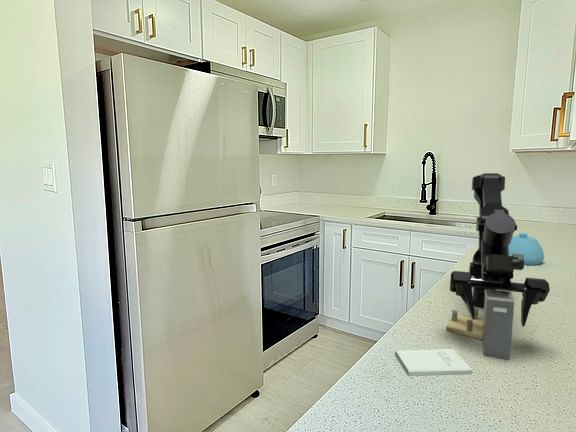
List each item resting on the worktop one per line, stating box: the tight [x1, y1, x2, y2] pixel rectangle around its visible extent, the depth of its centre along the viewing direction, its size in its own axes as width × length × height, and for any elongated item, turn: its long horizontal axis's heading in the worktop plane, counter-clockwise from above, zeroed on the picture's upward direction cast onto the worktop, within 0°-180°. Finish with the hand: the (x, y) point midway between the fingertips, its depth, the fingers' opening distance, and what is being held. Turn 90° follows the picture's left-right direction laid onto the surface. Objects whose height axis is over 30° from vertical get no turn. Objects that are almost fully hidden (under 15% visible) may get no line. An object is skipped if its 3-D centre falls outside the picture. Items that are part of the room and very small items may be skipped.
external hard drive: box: [394, 348, 473, 377], centre depth 75 cm, size 2×8×12 cm
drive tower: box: [481, 289, 516, 361], centre depth 79 cm, size 5×5×13 cm
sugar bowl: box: [508, 232, 545, 266], centre depth 150 cm, size 15×15×12 cm
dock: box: [445, 307, 483, 340], centre depth 91 cm, size 10×10×4 cm
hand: (497, 322), depth 78 cm, fingers open, 9 cm apart
